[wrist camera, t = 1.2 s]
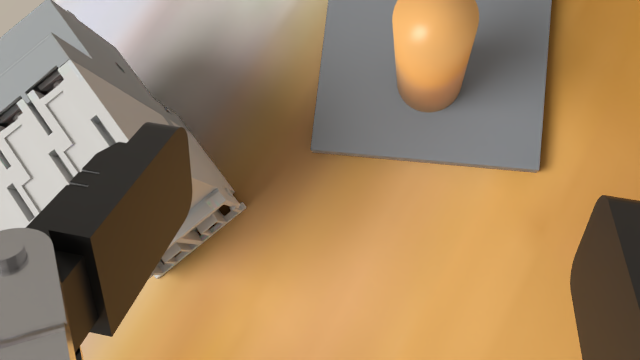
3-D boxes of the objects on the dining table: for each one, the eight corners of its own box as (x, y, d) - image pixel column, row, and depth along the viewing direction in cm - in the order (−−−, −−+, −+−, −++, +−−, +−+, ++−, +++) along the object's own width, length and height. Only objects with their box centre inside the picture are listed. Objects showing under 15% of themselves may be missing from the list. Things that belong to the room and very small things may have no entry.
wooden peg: (400, 48, 39) (396, -25, 29) (464, 52, 38) (482, -21, 29) (393, 109, 39) (388, 56, 29) (458, 115, 38) (475, 61, 28)
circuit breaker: (128, 49, 43) (-19, -64, 28) (247, 207, 40) (152, 173, 25) (46, 116, 43) (-143, 38, 28) (158, 278, 40) (13, 285, 26)
